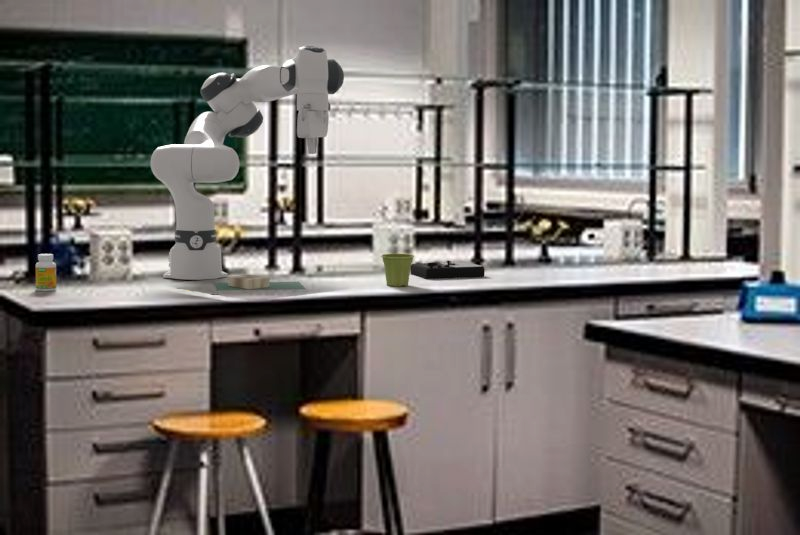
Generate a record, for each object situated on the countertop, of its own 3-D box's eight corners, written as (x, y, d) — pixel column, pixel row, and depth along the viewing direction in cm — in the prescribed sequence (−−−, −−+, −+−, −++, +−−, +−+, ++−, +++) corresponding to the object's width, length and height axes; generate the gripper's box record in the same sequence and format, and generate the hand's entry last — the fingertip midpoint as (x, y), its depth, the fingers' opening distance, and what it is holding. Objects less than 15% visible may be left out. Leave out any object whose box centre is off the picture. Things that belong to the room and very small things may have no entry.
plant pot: (411, 288, 365) (411, 257, 364) (378, 287, 367) (378, 256, 366) (416, 283, 374) (416, 254, 373) (384, 282, 376) (384, 253, 375)
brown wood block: (248, 284, 360) (228, 286, 355) (248, 274, 359) (228, 276, 354) (269, 287, 353) (249, 289, 348) (269, 277, 353) (249, 279, 348)
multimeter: (409, 275, 397) (410, 259, 397) (466, 273, 404) (467, 257, 404) (426, 280, 385) (426, 264, 385) (485, 278, 392) (485, 262, 392)
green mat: (213, 286, 362) (213, 282, 362) (298, 285, 367) (298, 281, 367) (216, 294, 347) (216, 290, 347) (305, 293, 351) (305, 289, 351)
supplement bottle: (35, 291, 348) (34, 255, 347) (36, 289, 354) (35, 253, 352) (56, 291, 350) (55, 255, 348) (56, 288, 355) (56, 253, 354)
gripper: (313, 104, 354) (313, 155, 356) (332, 105, 374) (331, 153, 376) (291, 104, 355) (291, 154, 357) (311, 104, 375) (310, 152, 377)
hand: (312, 153), depth 366 cm, fingers closed
